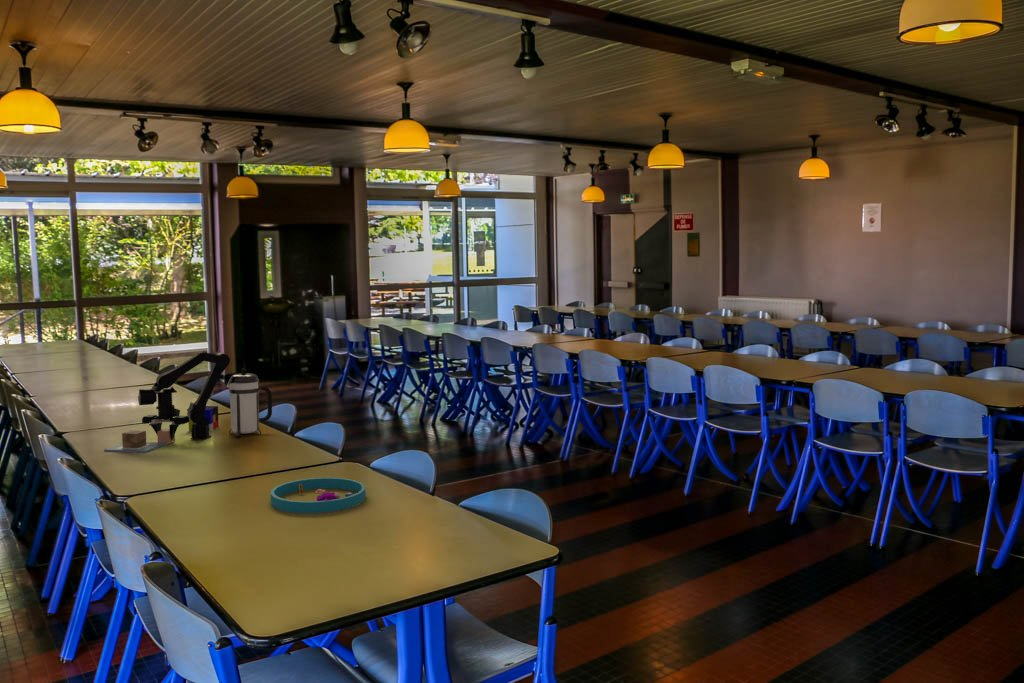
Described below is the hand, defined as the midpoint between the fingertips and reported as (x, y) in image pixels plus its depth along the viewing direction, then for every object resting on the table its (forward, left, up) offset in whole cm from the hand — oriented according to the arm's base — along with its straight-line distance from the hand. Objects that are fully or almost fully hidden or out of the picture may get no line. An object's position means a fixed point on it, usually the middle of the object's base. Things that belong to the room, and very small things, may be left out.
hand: (166, 439), depth 356 cm
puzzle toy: (-2, -29, -1) cm, 29 cm away
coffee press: (-27, -21, -1) cm, 34 cm away
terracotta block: (0, 0, -1) cm, 1 cm away
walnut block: (+6, +14, 0) cm, 15 cm away
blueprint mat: (+6, +13, -1) cm, 14 cm away
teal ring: (-96, +76, -2) cm, 123 cm away
